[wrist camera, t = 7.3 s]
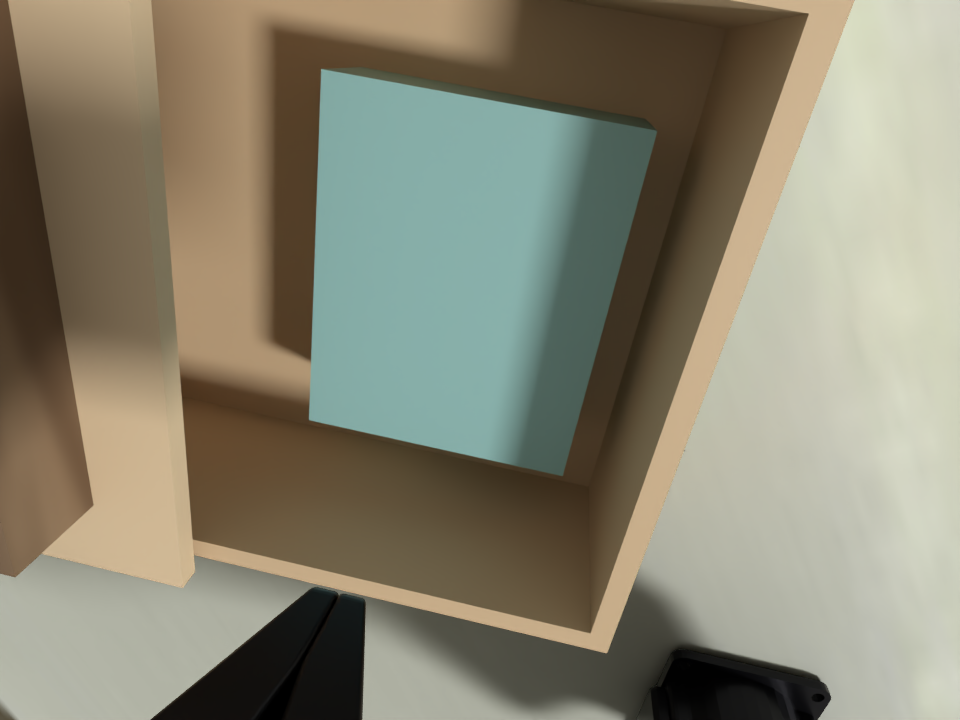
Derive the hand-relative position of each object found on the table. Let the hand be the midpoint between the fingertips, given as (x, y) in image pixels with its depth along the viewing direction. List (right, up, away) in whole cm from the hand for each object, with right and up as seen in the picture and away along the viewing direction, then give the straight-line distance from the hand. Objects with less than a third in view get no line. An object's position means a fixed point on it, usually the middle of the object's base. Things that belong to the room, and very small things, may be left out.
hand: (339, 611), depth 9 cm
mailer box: (-2, +8, +11) cm, 13 cm away
